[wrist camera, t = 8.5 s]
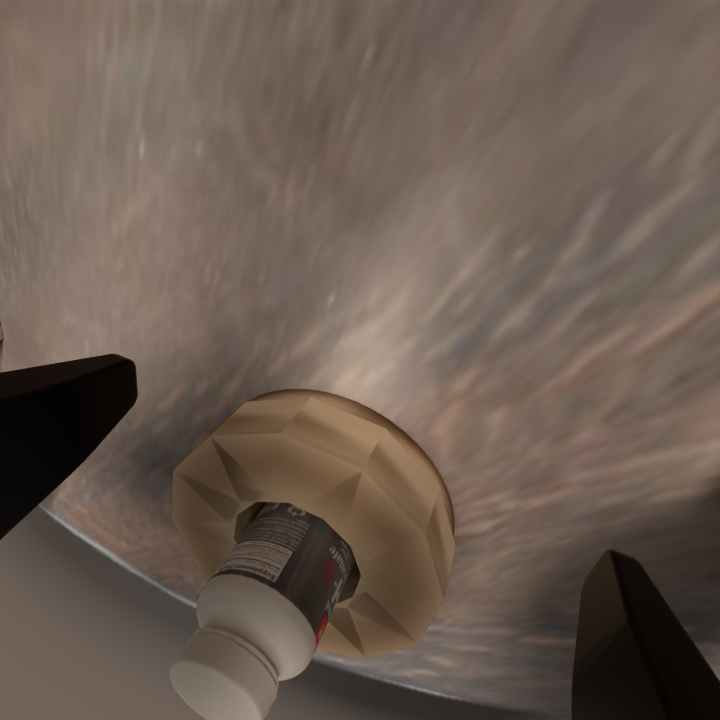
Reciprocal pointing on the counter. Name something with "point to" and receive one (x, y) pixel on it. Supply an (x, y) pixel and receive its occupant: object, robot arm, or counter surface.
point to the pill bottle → (262, 614)
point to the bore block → (328, 507)
